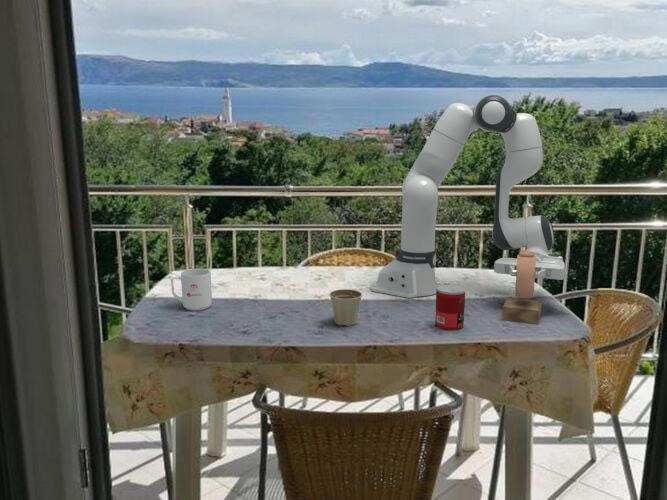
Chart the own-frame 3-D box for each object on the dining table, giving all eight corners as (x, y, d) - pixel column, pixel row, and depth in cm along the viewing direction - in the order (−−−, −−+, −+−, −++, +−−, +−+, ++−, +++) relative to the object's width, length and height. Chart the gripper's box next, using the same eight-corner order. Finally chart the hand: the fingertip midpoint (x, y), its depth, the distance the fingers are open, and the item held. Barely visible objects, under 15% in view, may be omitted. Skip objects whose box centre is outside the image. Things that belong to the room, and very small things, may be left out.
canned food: (463, 331, 178) (465, 293, 175) (434, 329, 179) (435, 291, 177) (463, 322, 185) (465, 285, 183) (435, 320, 187) (437, 283, 184)
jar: (514, 297, 187) (516, 253, 184) (516, 292, 192) (518, 249, 189) (532, 299, 185) (535, 255, 182) (534, 294, 190) (537, 251, 187)
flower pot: (351, 330, 178) (351, 300, 176) (323, 324, 183) (322, 295, 181) (368, 321, 186) (368, 292, 184) (340, 315, 191) (340, 287, 189)
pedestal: (502, 319, 187) (502, 306, 186) (507, 309, 196) (507, 297, 195) (537, 324, 183) (538, 310, 183) (541, 313, 192) (542, 300, 192)
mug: (213, 302, 204) (211, 268, 201) (210, 311, 195) (209, 275, 193) (174, 303, 203) (172, 269, 200) (170, 312, 194) (168, 276, 191)
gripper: (499, 250, 202) (489, 260, 190) (568, 257, 193) (562, 267, 181) (498, 270, 203) (488, 281, 191) (566, 277, 195) (560, 289, 183)
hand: (525, 274), depth 186 cm, fingers closed on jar, 5 cm apart
